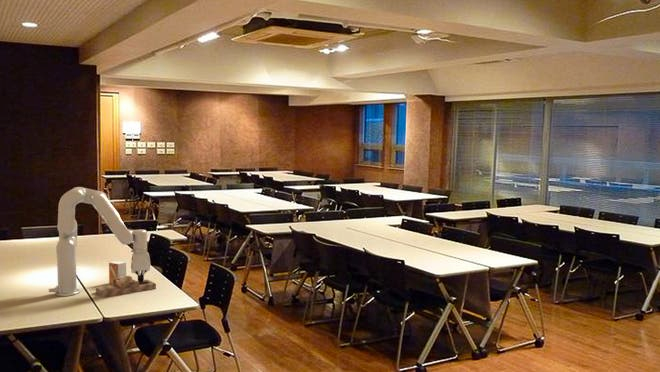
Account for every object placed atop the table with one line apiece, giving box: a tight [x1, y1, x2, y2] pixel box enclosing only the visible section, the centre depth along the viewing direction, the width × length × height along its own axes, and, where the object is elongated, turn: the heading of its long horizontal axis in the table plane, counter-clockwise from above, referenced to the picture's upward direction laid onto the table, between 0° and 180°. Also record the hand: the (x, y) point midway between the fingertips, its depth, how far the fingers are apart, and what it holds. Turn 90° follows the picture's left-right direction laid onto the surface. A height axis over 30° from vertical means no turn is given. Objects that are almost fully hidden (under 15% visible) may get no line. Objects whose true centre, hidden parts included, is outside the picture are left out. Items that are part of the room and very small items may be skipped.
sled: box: [116, 278, 136, 287], centre depth 325 cm, size 9×9×2 cm
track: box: [95, 279, 157, 298], centre depth 325 cm, size 30×13×6 cm, turn 130°
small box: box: [108, 260, 127, 285], centre depth 341 cm, size 8×6×13 cm
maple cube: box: [120, 275, 133, 283], centre depth 325 cm, size 5×5×5 cm
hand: (140, 281), depth 331 cm, fingers closed
